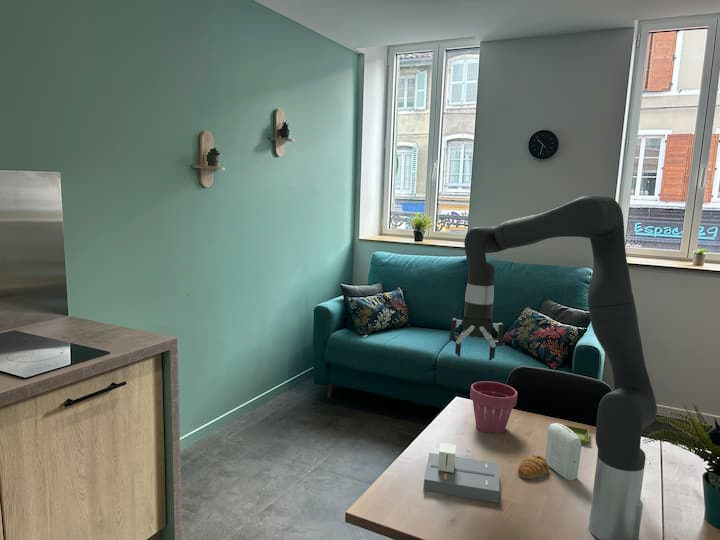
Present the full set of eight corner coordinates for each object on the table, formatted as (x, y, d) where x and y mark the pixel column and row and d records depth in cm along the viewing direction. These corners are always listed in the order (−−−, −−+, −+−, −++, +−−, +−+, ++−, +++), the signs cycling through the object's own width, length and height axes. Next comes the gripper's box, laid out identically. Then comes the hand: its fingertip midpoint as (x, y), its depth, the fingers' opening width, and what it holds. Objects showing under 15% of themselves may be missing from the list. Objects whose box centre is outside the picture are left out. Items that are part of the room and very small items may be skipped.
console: (496, 473, 141) (497, 462, 140) (498, 502, 127) (499, 490, 127) (428, 463, 145) (429, 452, 144) (423, 490, 131) (424, 478, 131)
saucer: (588, 447, 159) (589, 440, 159) (557, 440, 163) (558, 434, 162) (588, 435, 167) (589, 429, 167) (558, 429, 171) (559, 423, 170)
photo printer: (580, 479, 140) (585, 435, 138) (566, 481, 139) (571, 436, 137) (555, 460, 150) (559, 418, 148) (542, 461, 148) (546, 419, 147)
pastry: (534, 485, 137) (536, 471, 136) (510, 474, 141) (512, 461, 141) (550, 472, 143) (552, 459, 143) (527, 463, 148) (528, 450, 147)
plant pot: (521, 428, 170) (525, 389, 168) (500, 442, 159) (504, 401, 157) (481, 414, 179) (484, 377, 177) (459, 426, 169) (462, 387, 167)
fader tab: (454, 463, 138) (456, 444, 138) (453, 472, 134) (455, 454, 133) (439, 460, 139) (440, 442, 138) (437, 470, 134) (439, 451, 134)
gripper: (452, 300, 143) (447, 359, 145) (506, 305, 140) (501, 364, 142) (453, 295, 150) (449, 351, 152) (505, 300, 147) (500, 356, 149)
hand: (474, 357), depth 147 cm, fingers open, 8 cm apart
